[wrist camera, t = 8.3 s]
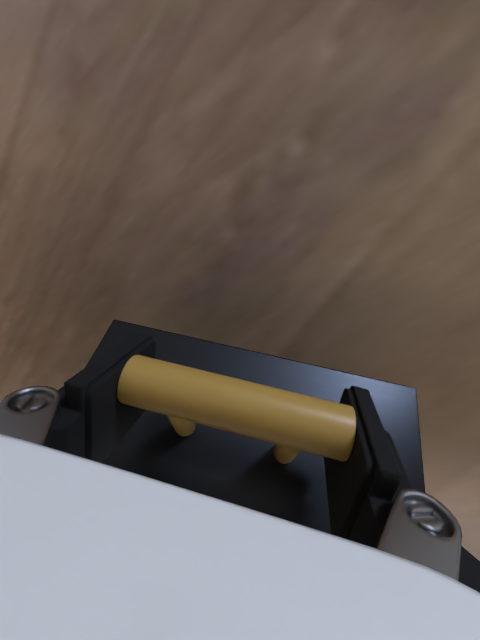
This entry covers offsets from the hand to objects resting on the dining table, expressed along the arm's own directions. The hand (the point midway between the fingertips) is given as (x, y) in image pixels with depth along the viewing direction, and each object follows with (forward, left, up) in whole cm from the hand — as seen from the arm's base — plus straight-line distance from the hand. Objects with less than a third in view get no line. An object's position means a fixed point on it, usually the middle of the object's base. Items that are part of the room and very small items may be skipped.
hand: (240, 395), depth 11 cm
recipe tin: (+2, 0, -6) cm, 7 cm away
